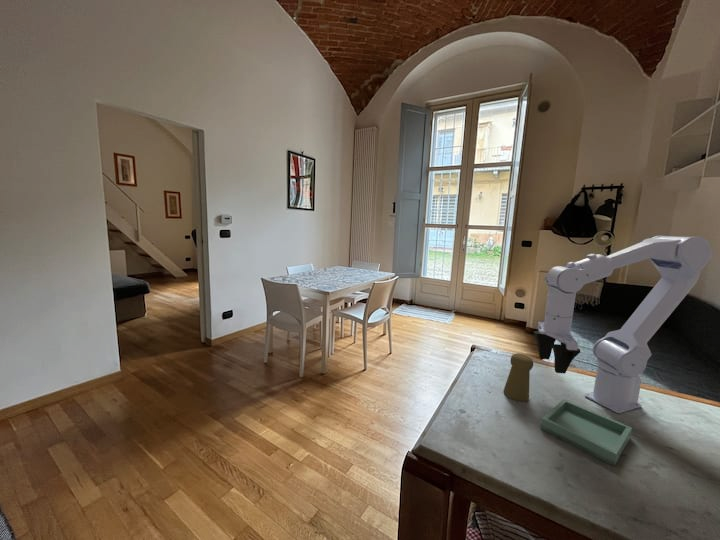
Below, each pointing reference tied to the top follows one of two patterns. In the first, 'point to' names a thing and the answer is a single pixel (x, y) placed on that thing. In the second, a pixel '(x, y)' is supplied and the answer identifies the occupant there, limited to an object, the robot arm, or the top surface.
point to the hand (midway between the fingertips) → (551, 365)
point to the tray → (587, 430)
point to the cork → (519, 377)
